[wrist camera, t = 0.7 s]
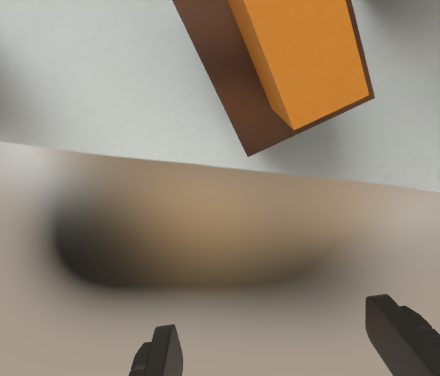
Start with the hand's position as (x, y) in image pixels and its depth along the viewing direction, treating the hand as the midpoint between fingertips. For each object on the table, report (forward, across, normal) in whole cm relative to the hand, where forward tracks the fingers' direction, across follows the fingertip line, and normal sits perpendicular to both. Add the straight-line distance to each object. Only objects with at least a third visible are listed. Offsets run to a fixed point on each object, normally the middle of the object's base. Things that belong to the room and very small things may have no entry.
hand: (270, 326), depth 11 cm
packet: (+15, -5, -13) cm, 20 cm away
